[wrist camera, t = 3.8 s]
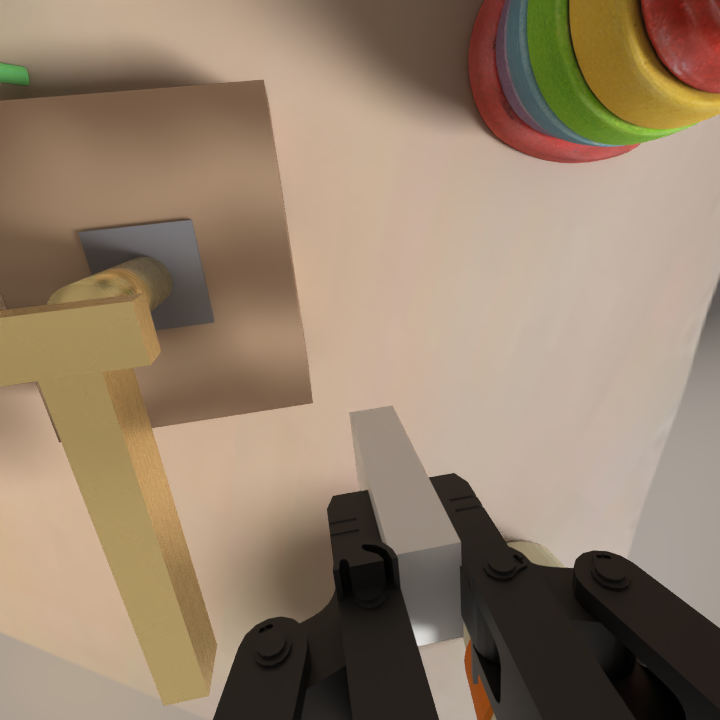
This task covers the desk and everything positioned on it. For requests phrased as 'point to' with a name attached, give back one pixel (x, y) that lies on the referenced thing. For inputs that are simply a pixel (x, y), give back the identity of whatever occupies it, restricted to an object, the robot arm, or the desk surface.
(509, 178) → the desk surface
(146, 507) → the gold piece
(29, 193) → the lock block
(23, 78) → the gear
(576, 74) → the stacking bear
